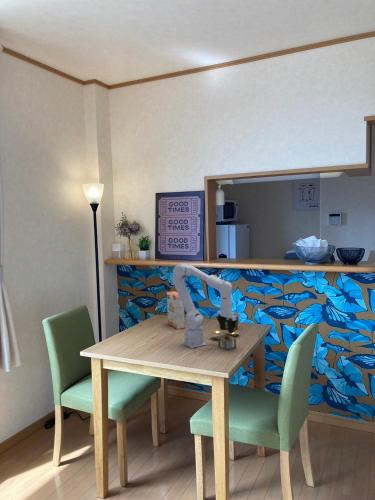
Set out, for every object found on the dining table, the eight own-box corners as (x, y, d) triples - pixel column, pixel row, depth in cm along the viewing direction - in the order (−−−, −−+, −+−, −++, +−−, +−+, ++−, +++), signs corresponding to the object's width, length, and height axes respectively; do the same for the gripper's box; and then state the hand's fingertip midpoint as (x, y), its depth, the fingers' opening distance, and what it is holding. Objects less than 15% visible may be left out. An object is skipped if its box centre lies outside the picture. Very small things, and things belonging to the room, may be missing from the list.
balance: (215, 342, 222) (214, 333, 222) (207, 338, 229) (207, 330, 229) (242, 336, 231) (242, 328, 230) (234, 332, 238) (233, 325, 237)
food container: (217, 329, 246) (216, 313, 245) (221, 326, 251) (220, 310, 250) (236, 331, 240) (235, 315, 239) (240, 328, 245) (239, 312, 244)
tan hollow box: (225, 350, 208) (225, 336, 208) (218, 346, 214) (218, 333, 214) (236, 347, 211) (235, 334, 211) (228, 344, 217) (228, 331, 217)
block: (226, 349, 210) (226, 341, 210) (221, 347, 214) (221, 339, 213) (232, 347, 212) (232, 340, 212) (228, 345, 216) (228, 338, 215)
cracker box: (167, 324, 261) (166, 291, 259) (176, 323, 263) (175, 290, 261) (176, 329, 248) (175, 295, 246) (185, 328, 251) (184, 294, 249)
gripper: (240, 306, 206) (241, 333, 208) (224, 301, 219) (225, 326, 220) (229, 308, 203) (229, 335, 204) (213, 303, 216) (214, 329, 217)
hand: (226, 331), depth 212 cm, fingers open, 7 cm apart
